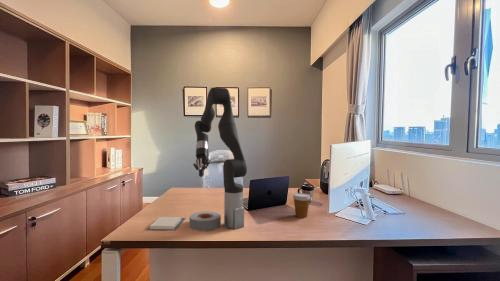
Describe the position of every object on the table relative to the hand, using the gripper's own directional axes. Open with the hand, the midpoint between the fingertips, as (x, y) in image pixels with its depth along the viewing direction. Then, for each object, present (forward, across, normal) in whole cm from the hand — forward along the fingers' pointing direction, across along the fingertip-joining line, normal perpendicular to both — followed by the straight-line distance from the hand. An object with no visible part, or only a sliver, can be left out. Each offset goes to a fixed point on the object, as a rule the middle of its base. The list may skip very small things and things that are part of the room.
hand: (201, 176), depth 151 cm
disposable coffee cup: (+25, +43, +36) cm, 62 cm away
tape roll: (+30, +9, -5) cm, 32 cm away
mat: (+28, -7, -16) cm, 33 cm away
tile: (+24, -8, -13) cm, 29 cm away
